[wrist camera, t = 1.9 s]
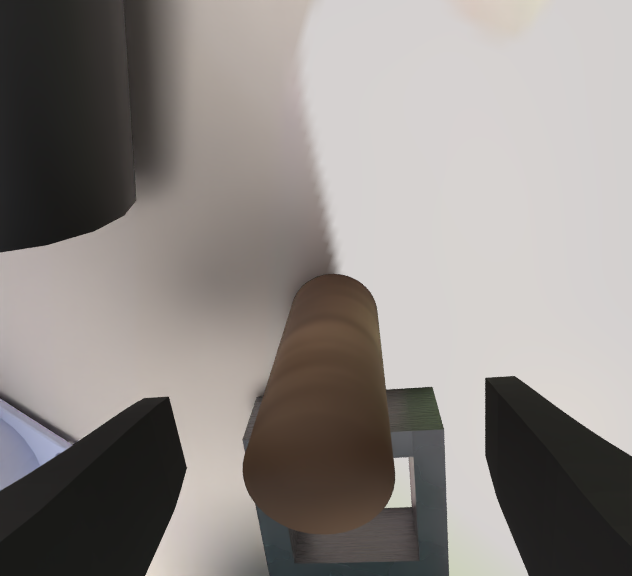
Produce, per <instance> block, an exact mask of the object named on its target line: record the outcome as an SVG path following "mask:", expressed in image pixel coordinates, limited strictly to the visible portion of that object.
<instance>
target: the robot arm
mask: <svg viewBox="0 0 632 576" xmlns="http://www.w3.org/2000/svg"><path fill="white" fill-rule="evenodd" d="M485 380H486V381H485V392H486V393H485V396H486V397H485V398H486V399H485V413H486V414H485V428H486V429H485V436H486V437H485V453H486V454H485V456H486V460H487V463H488V467H489V470H490V475H491V478H492V482H493V485H494V489H495V493H496V496H497V499H498V502H499V504H500V507H501V509H502V512H503V514H504V517H505V519H506V521H507V524H508V526H509V528H510V531H511V533H512V536H513V538H514V541H515V543H516V546H517V548H518V550H519V553H520V555H521V558H522V560H523V563H524V565H525V567H526V570H527V572H528V575H529V576H632V456H630V455H629V454H627V453H625V452H624V451H622V450H620V449H619V448H617V447H616V446H614V445H612V444H611V443H609V442H608V441H606V440H604V439H603V438H601V437H600V436H598V435H596V434H595V433H594V432H592V431H591V430H589V429H588V428H586V427H585V426H583V425H582V424H580V423H579V422H577V421H576V420H574V419H573V418H571V417H570V416H569V415H567V414H566V413H564V412H563V411H562V410H560V409H559V408H558V407H556V406H555V405H553V404H552V403H551V402H549V401H548V400H546V399H545V398H544V397H542V396H541V395H540V394H538V393H537V392H536V391H535V390H533V389H532V388H530V387H529V386H528V385H526V384H525V383H523V382H522V381H521V380H519V379H518V378H516V377H515V376H510V377H492V378H485ZM186 469H187V467H186V463H185V459H184V455H183V451H182V447H181V443H180V439H179V435H178V431H177V427H176V423H175V419H174V415H173V411H172V407H171V403H170V399H169V397H157V398H144V399H142V400H140V401H138V402H136V403H135V404H133V405H131V406H130V407H128V408H127V409H125V410H124V411H122V412H121V413H119V414H118V415H116V416H115V417H113V418H112V419H110V420H109V421H107V422H106V423H105V424H103V425H102V426H100V427H99V428H97V429H96V430H94V431H93V432H91V433H90V434H88V435H87V436H86V437H84V438H83V439H81V440H80V441H78V442H77V443H75V444H74V445H72V444H70V443H69V442H67V441H66V440H64V439H63V438H61V437H60V436H58V435H56V434H55V433H53V432H52V431H50V430H49V429H47V428H45V427H44V426H42V425H41V424H39V423H38V422H36V421H34V420H33V419H31V418H30V417H28V416H27V415H25V414H23V413H22V412H20V411H19V410H17V409H16V408H14V407H13V406H11V405H9V404H8V403H6V402H5V401H3V400H2V399H0V576H145V575H146V572H147V570H148V568H149V566H150V564H151V561H152V559H153V557H154V555H155V553H156V550H157V548H158V546H159V544H160V542H161V539H162V537H163V535H164V533H165V530H166V528H167V526H168V523H169V521H170V519H171V517H172V514H173V512H174V510H175V507H176V503H177V500H178V497H179V494H180V491H181V487H182V484H183V480H184V476H185V473H186Z"/></svg>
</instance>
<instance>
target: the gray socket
mask: <svg viewBox="0 0 632 576" xmlns="http://www.w3.org/2000/svg"><path fill="white" fill-rule="evenodd" d="M386 395H387V404H388V413H389V422H390V432H391V441H392V450H393V458H399V457H409V469H410V485H411V500H412V507H405V508H384V509H383V510H382V511H381V512H380V513H379V514H378V515H377V516H376V517H375V518H373V519H372V520H371V521H370V522H368V523H366V524H364V525H363V526H361V527H358V528H356V529H354V530H350V531H347V532H343V533H338V534H328V535H321V534H309V533H304V532H300V531H296V530H293V529H290V528H288V527H286V526H283V525H281V524H279V523H278V522H276V521H274V520H273V519H271V518H270V517H269V516H267V515H266V514H265V513H264V512H263V511H262V510H261V509H259V507H258V506H257V505H256V504H255V505H256V510H257V515H258V520H259V525H260V530H261V535H262V540H263V545H264V550H265V555H266V560H267V565H268V570H269V575H270V576H449V564H448V533H447V507H446V505H447V504H446V476H445V446H444V428H443V424H442V420H441V417H440V414H439V410H438V406H437V402H436V399H435V395H434V391H433V388H432V387H423V388H406V389H391V390H386ZM262 398H263V397H259V398H256V401H255V404H254V407H253V410H252V413H251V416H250V419H249V422H248V425H247V428H246V431H245V434H244V437H243V444H244V449H245V452H246V449H247V446H248V443H249V440H250V436H251V433H252V430H253V427H254V424H255V421H256V417H257V414H258V411H259V408H260V405H261V402H262Z"/></svg>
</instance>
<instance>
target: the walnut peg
mask: <svg viewBox="0 0 632 576" xmlns="http://www.w3.org/2000/svg"><path fill="white" fill-rule="evenodd" d="M243 478H244V482H245V486H246V488H247V491H248V493H249V495H250V496H251V498H252V500H253V501H254V503H255V504H256V505H257V506H258V507H259V509H261V510H262V511H263V512H264V513H265V514H266V515H267V516H269V517H270V518H271V519H273V520H274V521H276V522H278V523H279V524H281V525H283V526H286V527H288V528H290V529H293V530H296V531H300V532H304V533H309V534H321V535H328V534H338V533H343V532H347V531H350V530H354V529H356V528H358V527H361V526H363V525H364V524H366V523H368V522H370V521H371V520H372V519H373V518H375V517H376V516H377V515H378V514H379V513H380V512H381V511H382V510H383V509H384V507H385V506H386V505H387V503H388V501H389V499H390V497H391V495H392V492H393V489H394V484H395V468H394V459H393V450H392V441H391V432H390V422H389V413H388V404H387V395H386V386H385V377H384V368H383V359H382V350H381V341H380V333H379V322H378V313H377V306H376V303H375V300H374V298H373V296H372V295H371V293H370V291H369V290H368V289H367V288H366V287H365V286H364V285H363V284H362V283H360V282H359V281H357V280H355V279H353V278H351V277H348V276H345V275H340V274H327V275H322V276H319V277H316V278H314V279H312V280H310V281H309V282H307V283H306V284H305V285H303V286H302V288H301V289H300V290H299V291H298V293H297V294H296V296H295V298H294V301H293V303H292V306H291V310H290V313H289V316H288V319H287V322H286V325H285V329H284V332H283V335H282V338H281V341H280V345H279V348H278V351H277V354H276V357H275V360H274V364H273V367H272V370H271V373H270V376H269V379H268V383H267V386H266V389H265V392H264V395H263V398H262V402H261V405H260V408H259V411H258V414H257V417H256V421H255V424H254V427H253V430H252V433H251V436H250V440H249V443H248V446H247V449H246V452H245V456H244V461H243Z"/></svg>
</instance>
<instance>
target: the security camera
mask: <svg viewBox="0 0 632 576" xmlns="http://www.w3.org/2000/svg"><path fill="white" fill-rule="evenodd" d="M135 201H136V188H135V172H134V157H133V141H132V125H131V109H130V93H129V77H128V62H127V46H126V30H125V14H124V0H0V252H6V251H12V250H19V249H25V248H32V247H38V246H45V245H49V244H52V243H56V242H59V241H63V240H66V239H69V238H73V237H76V236H79V235H83V234H86V233H90V232H93V231H95V230H97V229H99V228H101V227H103V226H105V225H107V224H109V223H111V222H113V221H114V220H116V219H118V218H120V217H122V216H124V215H125V214H126V212H127V211H128V210H129V209H130V208H131V206H132V205H133V204H134V203H135Z"/></svg>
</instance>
